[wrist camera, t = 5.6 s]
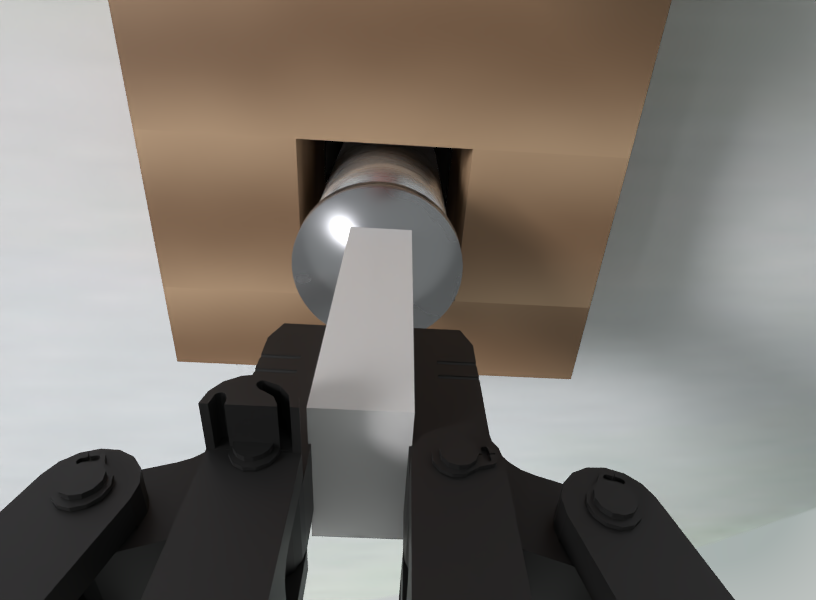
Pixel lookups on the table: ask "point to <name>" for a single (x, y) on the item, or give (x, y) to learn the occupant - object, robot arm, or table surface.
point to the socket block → (386, 124)
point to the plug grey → (381, 225)
